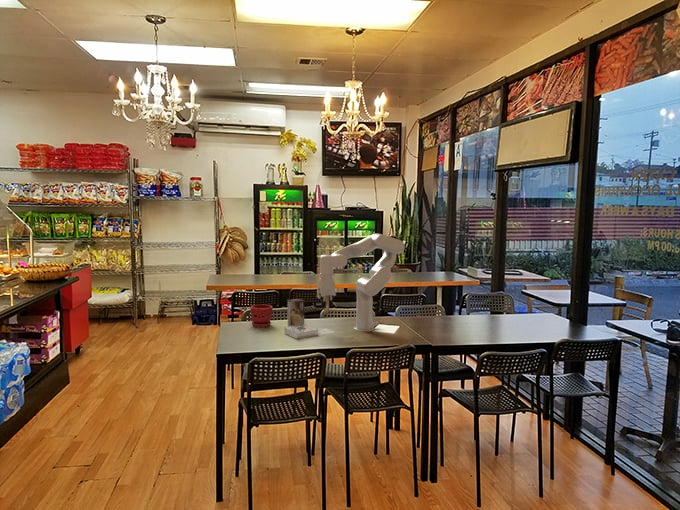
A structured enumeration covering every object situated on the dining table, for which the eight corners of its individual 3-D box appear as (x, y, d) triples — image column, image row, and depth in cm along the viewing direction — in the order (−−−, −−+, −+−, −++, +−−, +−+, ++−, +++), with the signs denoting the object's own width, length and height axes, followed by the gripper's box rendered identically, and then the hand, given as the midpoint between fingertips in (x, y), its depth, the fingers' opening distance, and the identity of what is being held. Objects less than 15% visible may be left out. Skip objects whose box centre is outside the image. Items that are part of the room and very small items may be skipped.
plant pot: (274, 327, 283) (274, 307, 282) (252, 328, 278) (253, 308, 277) (269, 321, 295) (269, 303, 294) (248, 323, 290) (248, 304, 289)
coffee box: (301, 324, 292) (301, 298, 290) (304, 326, 286) (304, 300, 284) (287, 325, 288) (287, 299, 286) (289, 327, 282) (290, 301, 281)
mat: (326, 329, 281) (326, 328, 281) (336, 332, 273) (336, 332, 273) (312, 331, 275) (312, 330, 275) (321, 335, 267) (321, 334, 267)
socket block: (305, 329, 278) (305, 324, 278) (317, 335, 267) (318, 329, 266) (284, 333, 270) (284, 327, 270) (296, 339, 259) (296, 333, 258)
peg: (327, 311, 274) (327, 295, 273) (330, 312, 272) (330, 296, 271) (322, 311, 273) (322, 295, 271) (325, 312, 270) (325, 296, 269)
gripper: (334, 274, 278) (334, 304, 280) (311, 276, 268) (311, 308, 270) (341, 275, 271) (341, 306, 274) (318, 278, 262) (318, 310, 264)
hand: (326, 307), depth 272 cm, fingers closed on peg, 3 cm apart
